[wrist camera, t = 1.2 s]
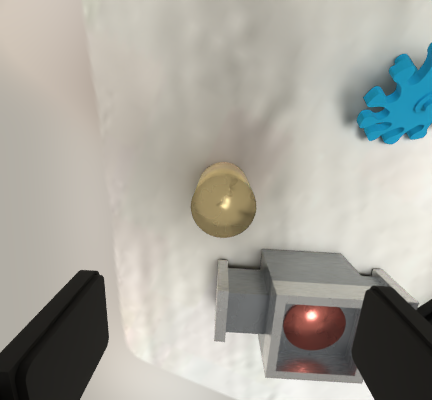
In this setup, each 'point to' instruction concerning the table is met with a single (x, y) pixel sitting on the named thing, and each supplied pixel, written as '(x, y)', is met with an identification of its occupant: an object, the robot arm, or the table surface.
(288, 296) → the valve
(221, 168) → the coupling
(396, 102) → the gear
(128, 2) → the table surface
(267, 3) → the table surface
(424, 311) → the chess piece
